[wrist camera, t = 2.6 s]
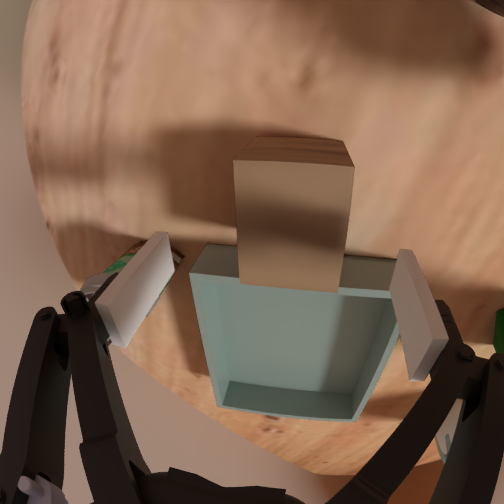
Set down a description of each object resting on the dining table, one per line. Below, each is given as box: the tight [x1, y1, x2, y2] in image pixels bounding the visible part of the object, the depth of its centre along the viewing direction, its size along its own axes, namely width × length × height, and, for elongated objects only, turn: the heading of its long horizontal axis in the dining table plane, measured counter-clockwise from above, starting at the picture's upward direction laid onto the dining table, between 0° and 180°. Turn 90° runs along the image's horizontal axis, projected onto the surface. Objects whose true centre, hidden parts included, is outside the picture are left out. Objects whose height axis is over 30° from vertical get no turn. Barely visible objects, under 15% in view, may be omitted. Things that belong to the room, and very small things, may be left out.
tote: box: [189, 244, 400, 422], centre depth 33 cm, size 24×20×5 cm
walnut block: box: [233, 136, 355, 293], centre depth 22 cm, size 9×7×8 cm
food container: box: [80, 241, 185, 346], centre depth 29 cm, size 12×6×10 cm, turn 135°
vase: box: [435, 399, 463, 464], centre depth 30 cm, size 12×12×18 cm
